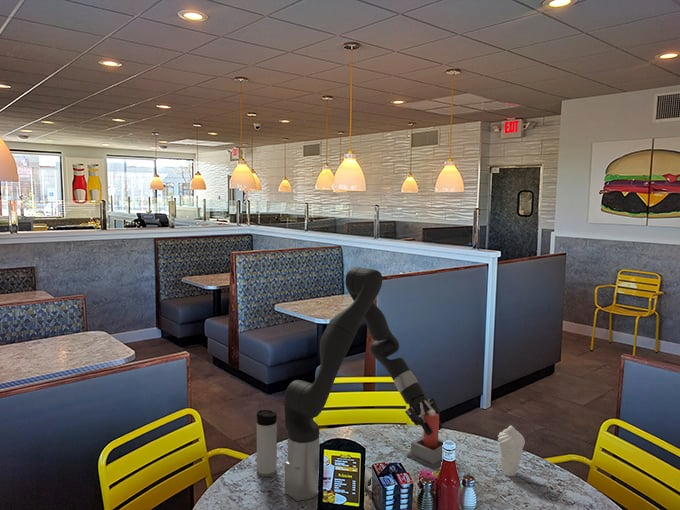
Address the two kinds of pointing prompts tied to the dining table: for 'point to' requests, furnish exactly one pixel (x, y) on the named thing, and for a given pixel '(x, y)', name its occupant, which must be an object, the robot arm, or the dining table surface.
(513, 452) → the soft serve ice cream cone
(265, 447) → the travel mug
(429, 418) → the squeeze bottle
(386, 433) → the dining table surface
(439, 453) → the box
